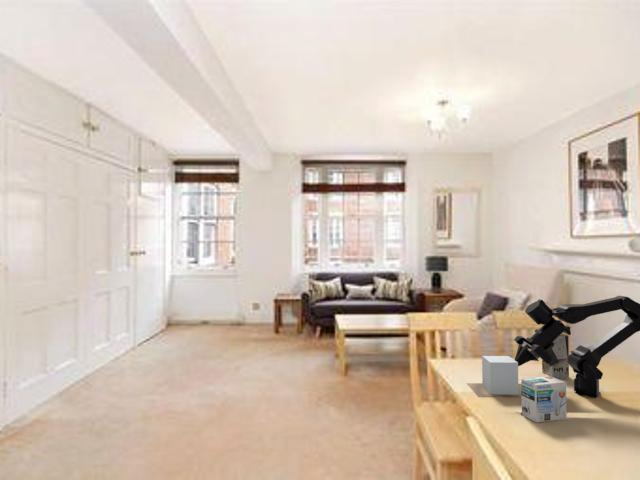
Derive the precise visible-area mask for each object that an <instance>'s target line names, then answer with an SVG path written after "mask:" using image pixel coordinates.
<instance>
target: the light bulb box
mask: <svg viewBox="0 0 640 480" xmlns="http://www.w3.org/2000/svg"><path fill="white" fill-rule="evenodd" d="M520 382H521V383H520V384H521V393H522V398H521V415H522V416H524V417H525V418H527V419H529V420H531V421H533V422H535V423H544V422H545V423H546V422H554V421H561V420H562V421H563V420H567V382H566V381H565V380H562V379H556V378H553V377H551V376H548V375H547V376H540V377H537V376H536V377H529V378H521V381H520Z"/></svg>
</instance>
